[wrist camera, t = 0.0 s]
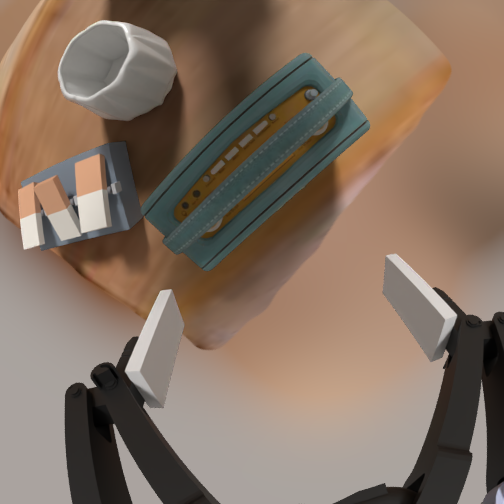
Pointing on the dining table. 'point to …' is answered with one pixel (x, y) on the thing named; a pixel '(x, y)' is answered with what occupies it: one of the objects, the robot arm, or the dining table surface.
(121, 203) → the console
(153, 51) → the vase
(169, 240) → the radio
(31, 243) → the rocker far
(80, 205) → the rocker near
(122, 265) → the dining table surface
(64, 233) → the rocker mid
